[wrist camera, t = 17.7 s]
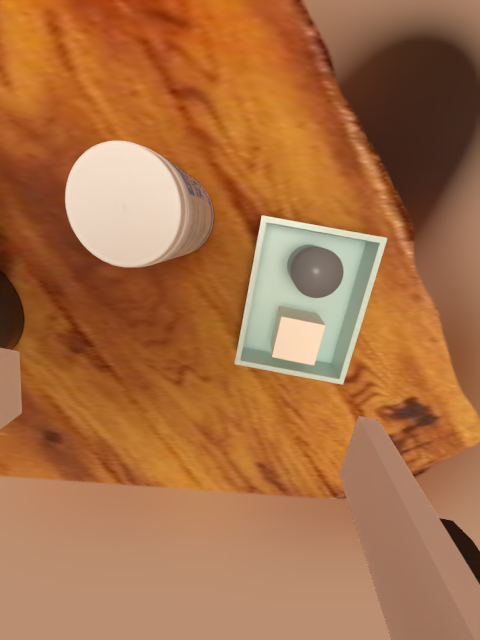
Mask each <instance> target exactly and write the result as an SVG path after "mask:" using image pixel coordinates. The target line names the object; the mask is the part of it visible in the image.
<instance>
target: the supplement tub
mask: <svg viewBox="0 0 480 640" xmlns="http://www.w3.org/2000/svg"><path fill="white" fill-rule="evenodd" d="M65 204H66V211H67V215H68V219H69V222H70V224H71V227H72V229H73V231H74V233H75V234H76V236H77V238H78V239H79V241H80V242H81V243H82V244H83V245H84V246H85V248H86V249H87V250H89V251H90V252H91V253H92V254H93V255H95V256H96V257H97V258H99V259H101V260H103V261H104V262H107V263H109V264H112V265H115V266H120V267H145V266H149V265H153V264H157V263H160V262H163V261H167V260H170V259H173V258H176V257H180V256H183V255H186V254H189V253H192V252H193V251H195V250H197V249H198V248H200V247H201V246H202V245H203V244H204V243H205V241H206V240H207V238H208V237H209V235H210V233H211V230H212V226H213V219H214V214H213V206H212V203H211V200H210V197H209V195H208V193H207V192H206V190H205V189H204V188H203V186H202V185H201V184H200V183H199V182H198V181H196V180H195V179H194V178H192V177H191V176H190V175H188V174H187V173H185V172H184V171H183V170H181V169H180V168H178V167H177V166H175V165H174V164H173V163H171V162H170V161H168V160H167V159H165V158H164V157H162V156H161V155H159V154H158V153H156V152H154V151H153V150H151V149H149V148H146V147H144V146H141V145H138V144H135V143H132V142H128V141H118V140H115V141H108V142H103V143H100V144H97V145H95V146H93V147H91V148H90V149H88V150H87V151H86V152H85V153H83V154H82V155H81V156H80V158H79V159H78V160H77V161H76V163H75V164H74V166H73V168H72V169H71V172H70V174H69V177H68V180H67V184H66V191H65Z"/></svg>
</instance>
